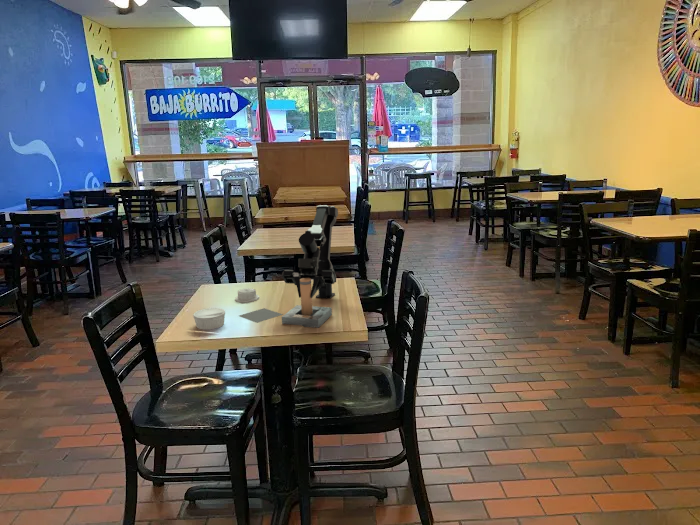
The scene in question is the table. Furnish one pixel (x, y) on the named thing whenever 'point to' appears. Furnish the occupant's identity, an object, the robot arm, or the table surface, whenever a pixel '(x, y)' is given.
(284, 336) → the table surface
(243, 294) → the mechanical component
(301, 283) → the peg
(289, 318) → the flange plate
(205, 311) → the ramekin
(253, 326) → the table surface
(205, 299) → the table surface
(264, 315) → the mat
